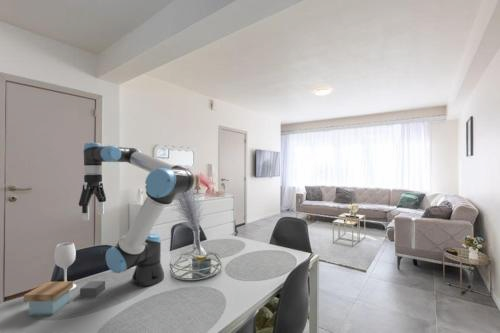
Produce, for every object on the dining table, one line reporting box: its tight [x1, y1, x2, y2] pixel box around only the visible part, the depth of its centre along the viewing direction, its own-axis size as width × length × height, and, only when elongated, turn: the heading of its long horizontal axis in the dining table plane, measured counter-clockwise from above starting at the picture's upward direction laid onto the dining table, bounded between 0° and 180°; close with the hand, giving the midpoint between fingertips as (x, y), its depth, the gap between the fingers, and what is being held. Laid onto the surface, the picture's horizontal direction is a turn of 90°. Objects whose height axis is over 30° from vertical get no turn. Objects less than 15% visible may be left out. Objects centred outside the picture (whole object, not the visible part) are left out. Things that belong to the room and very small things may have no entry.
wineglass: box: [53, 241, 77, 292], centre depth 117 cm, size 9×9×21 cm
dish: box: [28, 290, 70, 316], centre depth 100 cm, size 9×9×6 cm
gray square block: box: [79, 280, 106, 298], centre depth 113 cm, size 7×7×4 cm
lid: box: [23, 280, 74, 303], centre depth 100 cm, size 11×11×2 cm
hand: (93, 217), depth 122 cm, fingers open, 13 cm apart
